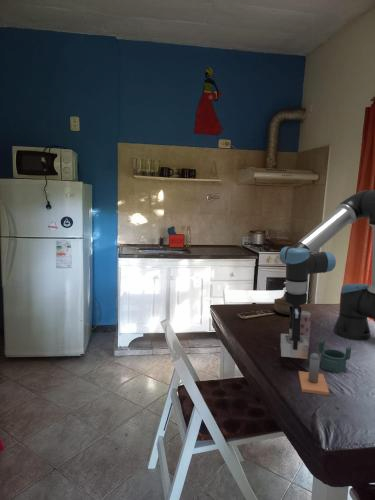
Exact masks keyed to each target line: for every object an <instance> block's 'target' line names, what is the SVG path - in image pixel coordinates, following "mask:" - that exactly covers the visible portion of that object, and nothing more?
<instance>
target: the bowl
mask: <svg viewBox="0 0 375 500" xmlns="http://www.w3.org/2000/svg"><path fill="white" fill-rule="evenodd" d="M273 301H274V302H273V303H274V304H273V309H274V310H275V311H276V312H277V313H278V314H280V313H281V315H284V316H290V311H289V306H290V305H291V304H289V303H287V302H285V293H284V294H283V296H281V297H280V298H274V300H273ZM299 307H301V305H300V306H299Z"/></svg>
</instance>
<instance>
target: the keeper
mask: <svg viewBox="0 0 375 500" xmlns="http://www.w3.org/2000/svg"><path fill="white" fill-rule="evenodd" d="M320 364H321V357H320V355H319V354H318V353H316V352H315V353H314V352H313V353H310V356H309V367H308V371H301V370H298V379H299V383H300V389H301V392H302V393H308V394H316V395H323V396H324V395H325V396H329V395H330V390H329V388H328V384H327V382H326V379H325V375H324V373H320Z"/></svg>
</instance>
